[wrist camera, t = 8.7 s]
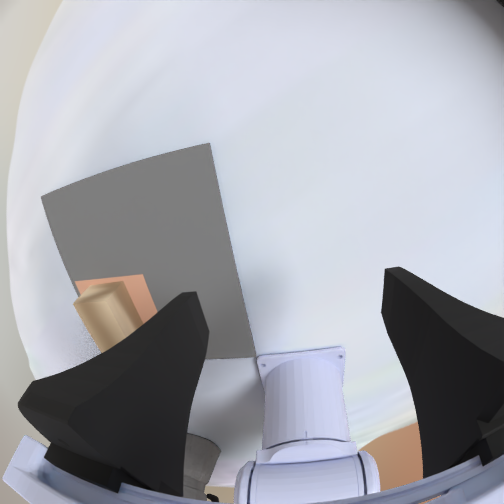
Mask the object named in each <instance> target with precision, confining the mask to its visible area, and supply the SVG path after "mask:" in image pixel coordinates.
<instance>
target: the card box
mask: <svg viewBox="0 0 504 504" xmlns="http://www.w3.org/2000/svg"><path fill="white" fill-rule="evenodd" d="M73 305H74V307H75V309H76V310H77V312H78V314H79V316H80V318H81V319H82V321H83V323H84V325H85V326H86V328H87V330H88V332H89V333H90V335H91V337H92V338H93V340H94V341H95V343H96V345H97V346H98V348H99V349H100V351H101V352H102V353H103V352H105V351H106V350H108V349H110V348H111V347H113V346H114V345H116V344H117V343H119V342H120V341H122V340H123V339H125V338H126V337H127V336H129V335H130V334H131V333H133V332H134V331H135V330H136V329H138V328H139V327H140V326H142V325H143V322H142V320H141V318H140V316H139V314H138V312H137V310H136V308H135V306H134V303H133V301H132V299H131V297H130V295H129V293H128V290H127V288H126V286H125V284H124V281H118V282H111V283H103V284H96V285H90V286H89V287H88V288H87V289H86V290H85V291H84V292H83V293H82V294H81V296H80V297H79V298H78V299H77V300H76V301H75V302H74V303H73Z"/></svg>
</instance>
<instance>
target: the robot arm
mask: <svg viewBox="0 0 504 504" xmlns="http://www.w3.org/2000/svg"><path fill="white" fill-rule="evenodd" d="M381 313H382V317H383V320H384V324H385V327H386V330H387V333H388V336H389V338H390V340H391V342H392V345H393V347H394V349H395V351H396V354H397V356H398V358H399V360H400V363H401V365H402V367H403V370H404V372H405V375H406V377H407V380H408V383H409V386H410V389H411V393H412V397H413V401H414V405H415V409H416V414H417V420H418V424H419V431H420V439H421V447H422V460H423V479H422V480H419V481H416V482H413V483H410V484H406V485H403V486H400V487H396V488H393V489H389V490H385V491H381V492H380V480H379V473H378V468H377V465H376V462H375V460H374V458H373V457H372V456H371V455H369V454H368V453H367V452H366V451H358V452H357V446H356V441H352V442H351V438H350V432H349V425H348V419H347V413H346V406H345V401H344V395H343V380H344V368H345V354H346V352H345V348H344V347H336V348H329V349H321V350H313V351H305V352H295V353H285V354H274V355H261V356H259V357H258V358H257V365H258V369H259V373H260V377H261V381H262V385H263V389H264V393H265V410H264V425H263V440H262V450H257V451H256V461H248V462H247V463H246V464H245V465H244V466H243V467H242V468H241V469H240V470H239V472H238V475H237V479H236V483H235V491H234V504H418V503H421V502H424V501H427V500H430V499H432V498H435V497H437V496H440V495H441V496H440V497H439V498H436V499H434V500H432V501H430V502H427V503H425V504H504V318H502V317H499V316H496V315H493V314H490V313H488V312H485V311H482V310H480V309H478V308H475V307H473V306H471V305H468V304H466V303H464V302H462V301H460V300H458V299H456V298H454V297H452V296H451V295H449V294H447V293H445V292H443V291H441V290H440V289H438V288H436V287H435V286H433V285H431V284H429V283H428V282H426V281H424V280H423V279H421V278H419V277H418V276H416V275H414V274H413V273H411V272H409V271H407V270H405V269H403V268H401V267H393V268H387V269H385V274H384V288H383V299H382V309H381ZM209 332H210V331H209V328H208V325H207V322H206V319H205V317H204V314H203V310H202V307H201V304H200V301H199V298H198V295H197V292H196V291H193V292H182V293H181V294H179V295H178V296H176V297H175V298H174V299H173V300H171V301H170V302H169V303H168V304H167V305H165V306H164V307H163V308H162V309H161V310H160V311H158V312H157V313H156V314H155V315H154V316H153V317H151V318H150V319H149V320H148V321H147V322H145V323H144V324H143V325H142V326H140V327H139V328H138V329H136V330H135V331H134V332H133V333H131V334H130V335H129V336H127V337H126V338H125V339H123V340H122V341H120V342H119V343H117V344H116V345H114V346H113V347H111V348H110V349H108V350H106V351H105V352H103V353H101V354H99V355H97V356H96V357H94V358H92V359H90V360H88V361H86V362H84V363H82V364H80V365H78V366H76V367H73V368H71V369H69V370H66V371H64V372H61V373H58V374H55V375H52V376H49V377H46V378H42V379H39V380H35V381H33V382H32V383H31V384H30V386H29V387H28V388H27V390H26V391H25V393H24V394H23V396H22V397H21V399H20V401H19V402H18V408H19V410H20V412H21V413H22V414H23V416H24V417H25V418H26V419H27V420H28V421H29V422H30V423H31V424H32V425H33V426H34V427H35V428H36V429H37V430H38V431H39V432H40V433H41V434H42V435H43V436H44V437H45V438H47V439H48V440H49V441H50V442H51V444H50V446H49V448H47V447H46V446H45V445H43V444H42V443H40V442H38V441H36V440H34V439H33V438H31V437H29V436H27V435H24V436H23V438H22V440H21V442H20V444H19V446H18V448H17V449H16V451H15V453H14V455H13V457H12V459H11V461H10V463H9V465H8V467H7V469H6V471H5V474H4V476H3V478H2V479H3V481H4V482H6V483H7V484H8V485H9V486H10V487H11V488H12V489H14V490H15V491H16V492H17V493H18V494H19V495H21V496H22V497H23V498H24V499H25V500H27V501H28V502H29V503H30V504H229V503H219V502H210V501H202V500H195V499H189V498H183V480H184V458H185V446H186V437H187V429H188V422H189V416H190V410H191V405H192V401H193V397H194V394H195V390H196V387H197V384H198V380H199V377H200V374H201V370H202V367H203V364H204V360H205V357H206V353H207V347H208V340H209ZM339 355H341V356H339Z"/></svg>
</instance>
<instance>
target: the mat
mask: <svg viewBox="0 0 504 504" xmlns="http://www.w3.org/2000/svg"><path fill="white" fill-rule="evenodd" d="M41 199H42V203H43V206H44V210H45V213H46V216H47V219H48V222H49V225H50V228H51V231H52V234H53V237H54V240H55V242H56V245H57V248H58V250H59V253H60V255H61V258H62V260H63V263H64V265H65V268H66V270H67V272H68V275H69V277H70V279H71V282H72V284H73V286H74V288H75V290H76V292H77V295H78V297H80V296H81V294H82V293H83V292H84V291H85V290H86V289H87V288H88V287H89V286H90V285H96V284H103V283H111V282H118V281H124V284H125V286H126V288H127V290H128V293H129V295H130V297H131V299H132V301H133V303H134V306H135V308H136V310H137V312H138V314H139V316H140V318H141V320H142V322H143V324H144V323H145V322H147V321H148V320H149V319H150V318H151V317H153V316H154V315H155V314H156V313H157V312H158V311H160V310H161V309H162V308H163V307H164V306H165V305H167V304H168V303H169V302H170V301H171V300H173V299H174V298H175V297H176V296H178V295H179V294H181V293H182V292H193V291H196V292H197V295H198V298H199V301H200V304H201V307H202V310H203V314H204V317H205V319H206V322H207V325H208V328H209V331H210V332H209V340H208V347H207V353H206V357H205V359H227V358H248V357H256V351H255V346H254V342H253V338H252V334H251V330H250V325H249V321H248V317H247V313H246V308H245V304H244V300H243V295H242V291H241V286H240V282H239V278H238V273H237V269H236V264H235V260H234V255H233V251H232V246H231V242H230V237H229V232H228V228H227V223H226V219H225V214H224V209H223V205H222V200H221V195H220V190H219V186H218V181H217V176H216V171H215V166H214V161H213V156H212V151H211V146H210V143H207V144H202V145H197V146H193V147H189V148H185V149H181V150H177V151H173V152H169V153H165V154H161V155H157V156H154V157H150V158H147V159H143V160H140V161H136V162H133V163H130V164H127V165H123V166H120V167H117V168H114V169H111V170H108V171H105V172H102V173H99V174H97V175H94V176H91V177H88V178H85V179H83V180H80V181H77V182H75V183H72V184H70V185H67V186H65V187H62V188H60V189H57V190H55V191H53V192H50V193H48V194H46V195H43V196H41Z"/></svg>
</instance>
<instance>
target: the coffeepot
mask: <svg viewBox="0 0 504 504" xmlns="http://www.w3.org/2000/svg"><path fill="white" fill-rule="evenodd" d="M220 452H221V451H220V449H219V448H218V447H217V445H215V444H214V443H213V442H211V441H209V440H207V439H205V438H202V437H200V436H196V435H193V434H188V433H187V437H186V446H185V458H184V480H183V498H189V499H195V500H202V501H207V498H208V499H210V500H211V501H212V502H219V499H218V497H217V496H215V495H212V494H207V495H206V494H205V493H204V490H205V485H206V484H207V483H208V482H209V480H210V477H211V475H212V472H213V470H214V467H215V465H216V462H217V460H218V457H219V454H220Z"/></svg>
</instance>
